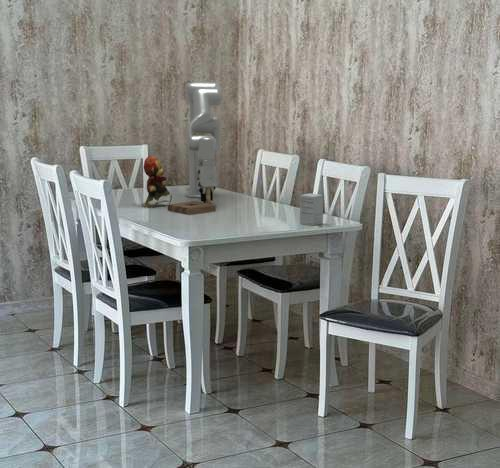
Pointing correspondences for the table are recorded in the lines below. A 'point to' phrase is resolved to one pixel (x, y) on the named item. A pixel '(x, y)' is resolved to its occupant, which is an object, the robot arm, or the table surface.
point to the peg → (207, 195)
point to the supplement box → (311, 209)
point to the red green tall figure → (155, 181)
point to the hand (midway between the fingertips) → (206, 200)
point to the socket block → (191, 207)
